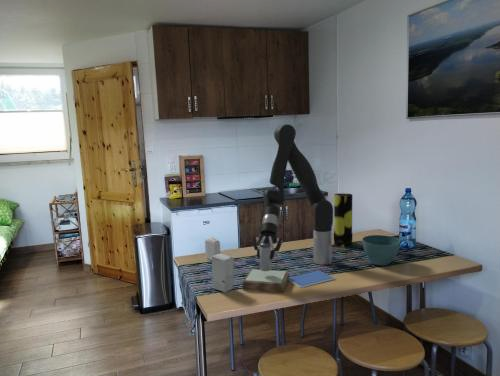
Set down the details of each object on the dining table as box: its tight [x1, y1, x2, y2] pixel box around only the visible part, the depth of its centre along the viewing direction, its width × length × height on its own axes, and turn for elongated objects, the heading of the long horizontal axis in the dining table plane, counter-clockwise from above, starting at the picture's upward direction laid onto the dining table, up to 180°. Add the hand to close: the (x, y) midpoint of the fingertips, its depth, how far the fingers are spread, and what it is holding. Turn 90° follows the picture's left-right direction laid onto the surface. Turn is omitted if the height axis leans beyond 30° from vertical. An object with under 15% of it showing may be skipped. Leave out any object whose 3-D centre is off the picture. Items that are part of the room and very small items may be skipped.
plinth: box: [242, 268, 290, 293], centre depth 184 cm, size 18×16×4 cm
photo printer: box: [204, 236, 221, 262], centre depth 220 cm, size 10×4×12 cm, turn 39°
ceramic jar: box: [259, 241, 272, 271], centre depth 183 cm, size 5×5×12 cm
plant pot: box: [361, 234, 401, 266], centre depth 207 cm, size 18×18×12 cm
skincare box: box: [211, 253, 234, 293], centre depth 180 cm, size 8×6×15 cm
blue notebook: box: [288, 270, 336, 289], centre depth 189 cm, size 19×13×1 cm, turn 118°
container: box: [333, 192, 353, 248], centre depth 239 cm, size 11×11×30 cm
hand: (264, 258), depth 182 cm, fingers closed on ceramic jar, 5 cm apart
